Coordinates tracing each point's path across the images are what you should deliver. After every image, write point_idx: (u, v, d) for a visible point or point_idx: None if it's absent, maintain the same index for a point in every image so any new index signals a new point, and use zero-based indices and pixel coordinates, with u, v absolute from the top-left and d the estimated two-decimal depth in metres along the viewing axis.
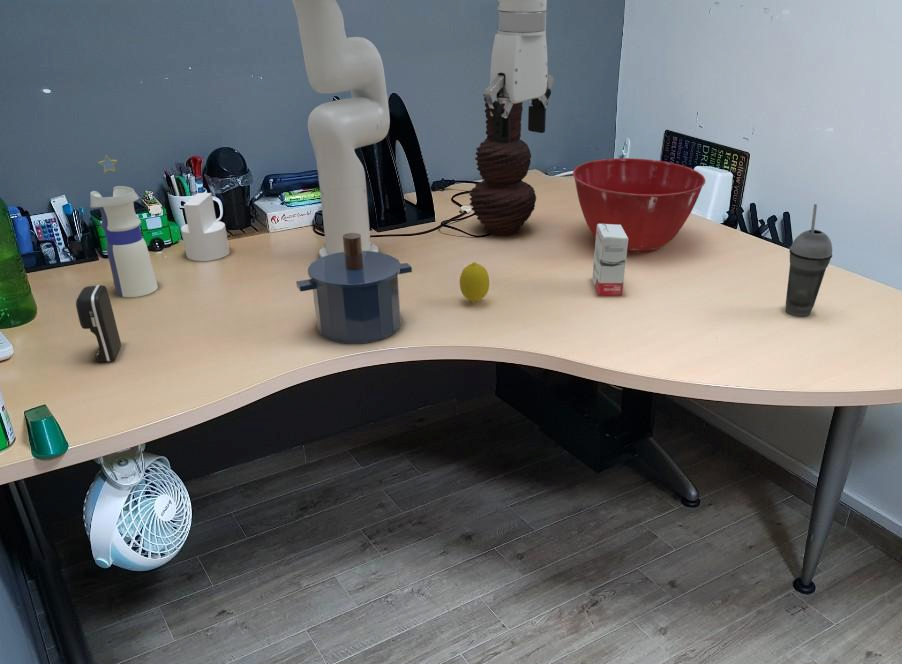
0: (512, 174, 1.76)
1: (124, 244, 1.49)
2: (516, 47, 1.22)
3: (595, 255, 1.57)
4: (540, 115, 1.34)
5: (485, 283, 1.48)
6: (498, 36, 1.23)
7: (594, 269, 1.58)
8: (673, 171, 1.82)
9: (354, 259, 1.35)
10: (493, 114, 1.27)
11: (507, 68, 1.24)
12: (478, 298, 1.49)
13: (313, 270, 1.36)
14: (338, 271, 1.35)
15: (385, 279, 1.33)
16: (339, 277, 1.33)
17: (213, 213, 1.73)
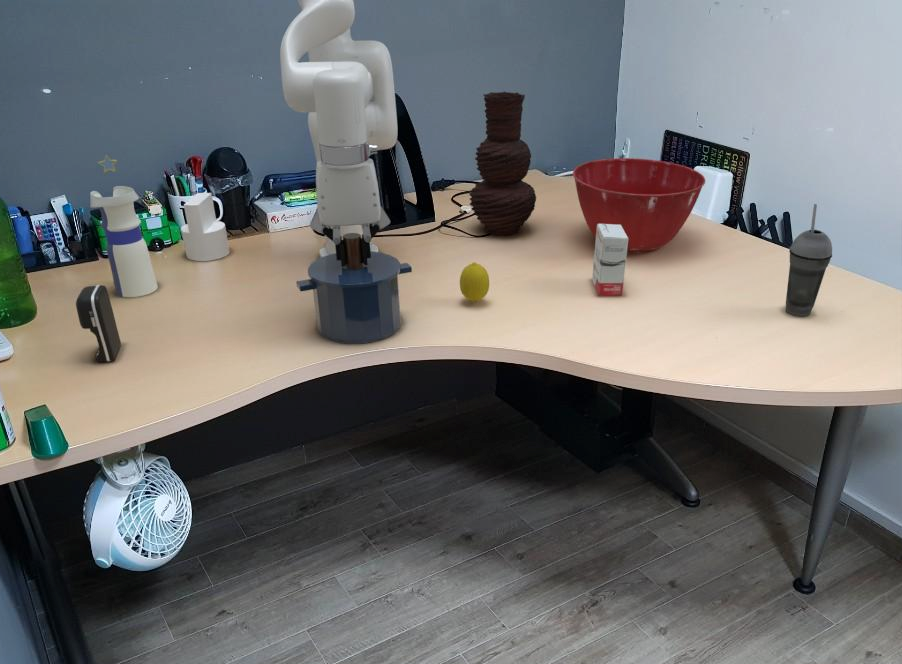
0: (512, 174, 1.76)
1: (124, 244, 1.49)
2: (321, 176, 1.27)
3: (595, 255, 1.57)
4: (362, 249, 1.35)
5: (485, 283, 1.48)
6: (317, 163, 1.28)
7: (594, 269, 1.58)
8: (673, 171, 1.82)
9: (354, 259, 1.35)
10: None
11: (317, 193, 1.29)
12: (478, 298, 1.49)
13: (313, 270, 1.36)
14: (338, 271, 1.35)
15: (385, 279, 1.33)
16: (339, 277, 1.33)
17: (213, 213, 1.73)
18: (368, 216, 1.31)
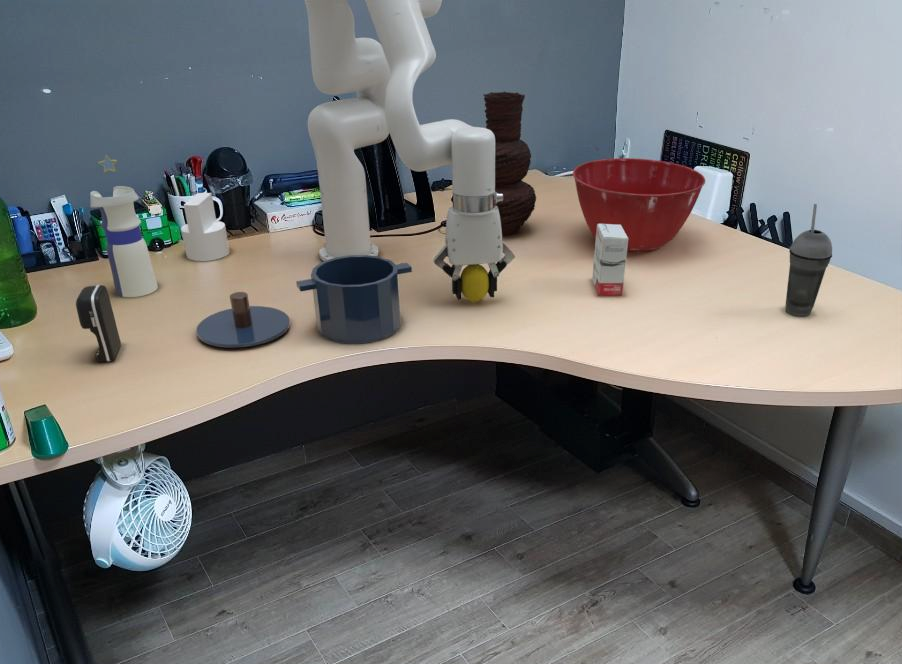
0: (512, 174, 1.76)
1: (124, 244, 1.49)
2: (454, 222, 1.41)
3: (595, 255, 1.57)
4: (490, 283, 1.49)
5: (485, 283, 1.48)
6: (448, 209, 1.43)
7: (594, 269, 1.58)
8: (673, 171, 1.82)
9: (241, 318, 1.38)
10: None
11: (448, 237, 1.43)
12: (478, 298, 1.49)
13: (202, 328, 1.39)
14: (226, 329, 1.39)
15: (270, 338, 1.36)
16: (225, 336, 1.36)
17: (213, 213, 1.73)
18: (492, 256, 1.46)
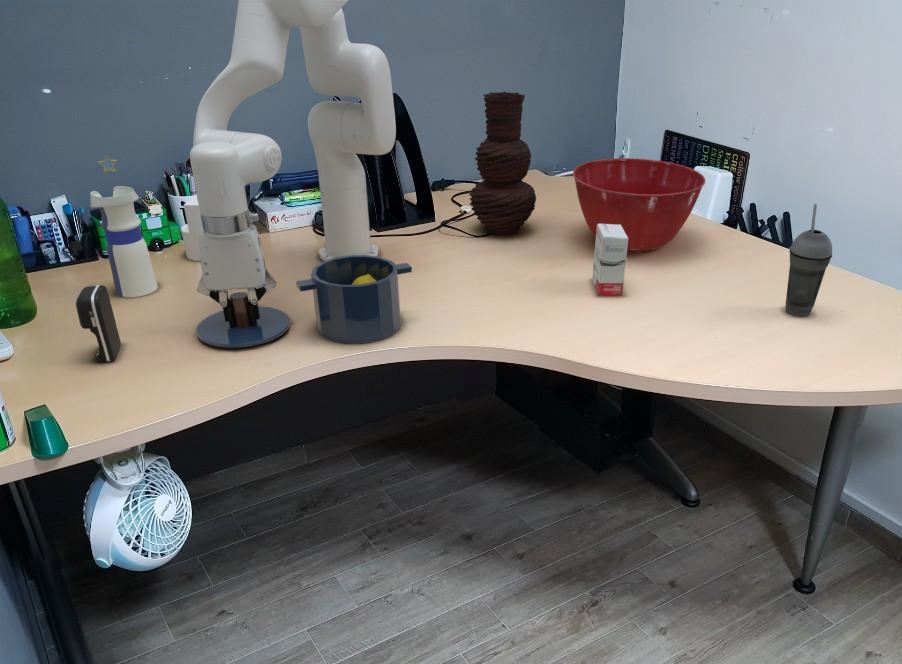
0: (512, 174, 1.76)
1: (124, 244, 1.49)
2: (202, 244, 1.30)
3: (595, 255, 1.57)
4: (249, 311, 1.38)
5: None
6: (200, 230, 1.32)
7: (594, 269, 1.58)
8: (673, 171, 1.82)
9: (241, 318, 1.38)
10: None
11: None
12: None
13: (202, 328, 1.39)
14: (226, 329, 1.38)
15: (270, 338, 1.36)
16: (225, 336, 1.36)
17: None
18: (252, 280, 1.35)
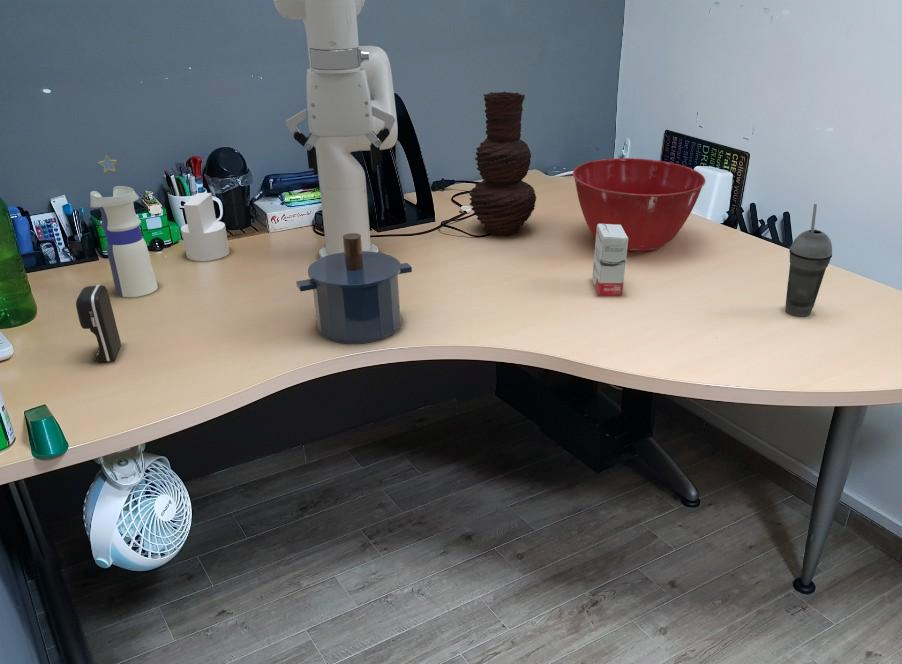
0: (512, 174, 1.76)
1: (124, 244, 1.49)
2: (311, 83, 1.23)
3: (595, 255, 1.57)
4: (371, 154, 1.31)
5: None
6: (307, 70, 1.25)
7: (594, 269, 1.58)
8: (673, 171, 1.82)
9: (354, 260, 1.35)
10: None
11: (307, 102, 1.25)
12: None
13: (313, 270, 1.36)
14: (338, 271, 1.35)
15: (385, 279, 1.33)
16: (339, 277, 1.33)
17: (213, 213, 1.73)
18: (360, 127, 1.28)
